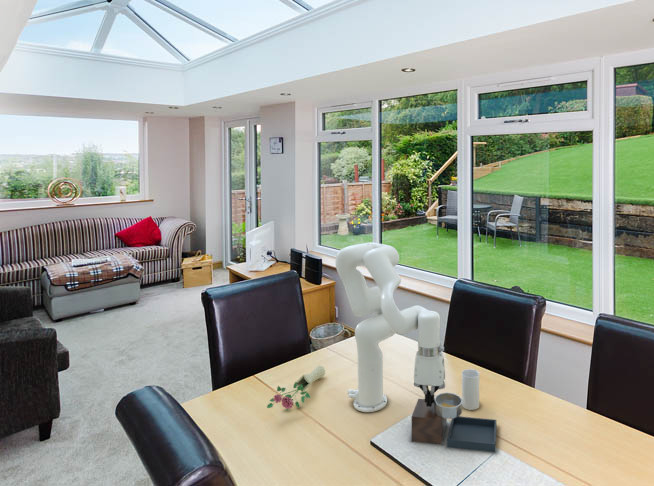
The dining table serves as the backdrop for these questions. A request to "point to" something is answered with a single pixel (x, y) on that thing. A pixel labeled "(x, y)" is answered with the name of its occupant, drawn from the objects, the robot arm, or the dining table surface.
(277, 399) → the flower vase
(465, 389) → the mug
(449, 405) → the key
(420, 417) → the block
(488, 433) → the tray
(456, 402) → the bowl
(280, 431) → the dining table surface
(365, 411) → the robot arm
